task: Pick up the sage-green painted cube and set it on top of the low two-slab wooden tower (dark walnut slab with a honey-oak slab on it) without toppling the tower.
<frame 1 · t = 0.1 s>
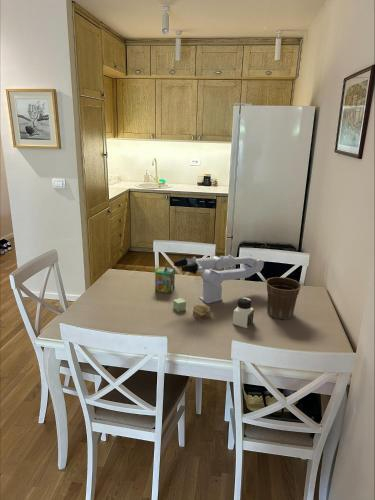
hand: (178, 266, 175), 22 cm above the table, tool horizontal, fingers open, 7 cm apart
plant pot: (279, 314, 178), on the table
oak slab: (201, 311, 173), point 2 cm above the table, touching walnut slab
chalk box: (164, 289, 202), on the table
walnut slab: (201, 316, 174), on the table, touching oak slab
green cube: (179, 308, 180), on the table
medicine bottle: (242, 323, 168), on the table
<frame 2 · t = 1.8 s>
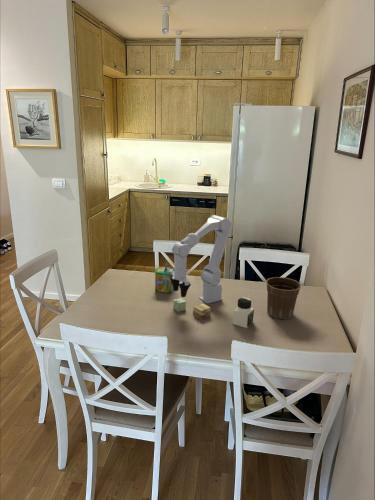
hand: (179, 293, 178), 8 cm above the table, tool pointing down, fingers open, 7 cm apart
nothing on the table moved.
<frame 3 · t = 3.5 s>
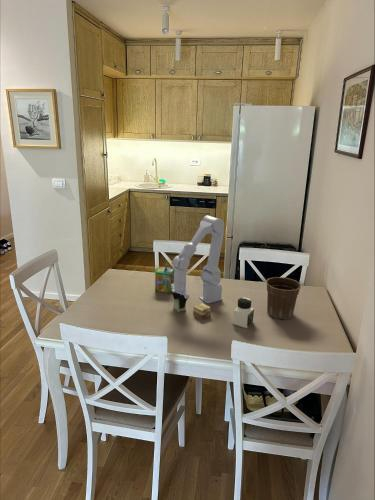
hand: (179, 306, 180), 1 cm above the table, tool pointing down, fingers closed on green cube, 4 cm apart
green cube: (179, 308, 180), on the table, touching gripper
everything else where it was.
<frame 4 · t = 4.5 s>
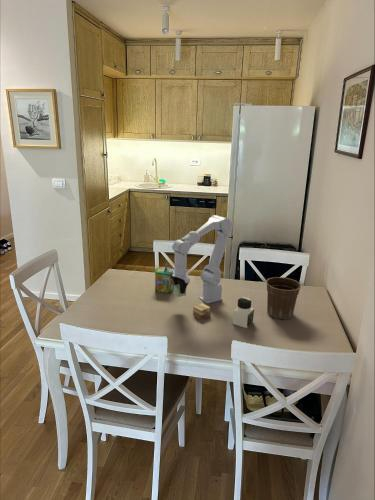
hand: (180, 291, 177), 9 cm above the table, tool pointing down, fingers closed on green cube, 4 cm apart
green cube: (179, 294, 178), point 8 cm above the table, touching gripper
everything else where it was.
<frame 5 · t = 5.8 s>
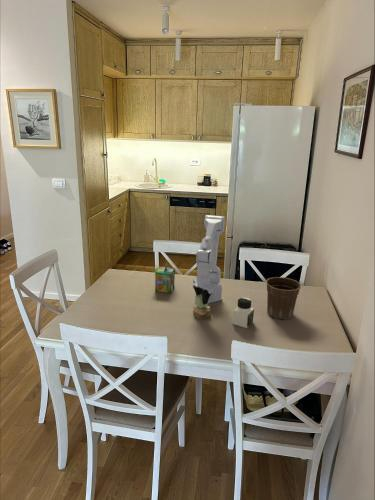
hand: (202, 301, 172), 7 cm above the table, tool pointing down, fingers closed on green cube, 4 cm apart
green cube: (201, 305, 172), point 6 cm above the table, touching gripper
everything else where it was.
when the fingers open (7 cm above the table, at t = 6.6 s): green cube stays where it is, resting on oak slab.
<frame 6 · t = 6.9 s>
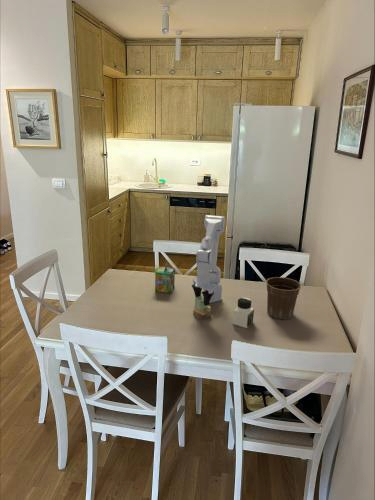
hand: (202, 301, 172), 7 cm above the table, tool pointing down, fingers open, 7 cm apart
oak slab: (202, 311, 174), point 2 cm above the table, touching green cube, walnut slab
green cube: (201, 306, 173), point 5 cm above the table, touching oak slab
everything else where it was.
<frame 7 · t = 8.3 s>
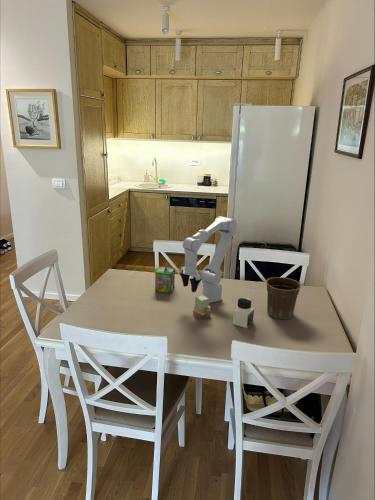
hand: (189, 288, 178), 10 cm above the table, tool pointing down, fingers open, 7 cm apart
oak slab: (202, 311, 174), point 2 cm above the table, touching green cube
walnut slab: (201, 316, 174), on the table
everything else where it was.
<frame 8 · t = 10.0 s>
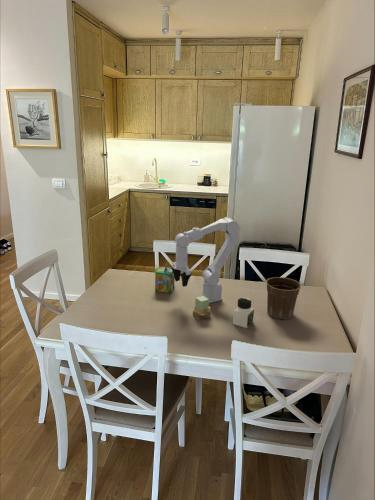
hand: (181, 283, 184), 10 cm above the table, tool pointing down, fingers open, 7 cm apart
oak slab: (202, 312, 173), point 2 cm above the table, touching green cube, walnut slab
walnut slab: (201, 316, 174), on the table, touching oak slab
everything else where it was.
at the end: green cube 0.0 cm off-centre on the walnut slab, point 5.1 cm above the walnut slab's base; green cube tilted 1°; oak slab moved 0.5 cm from its start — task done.
